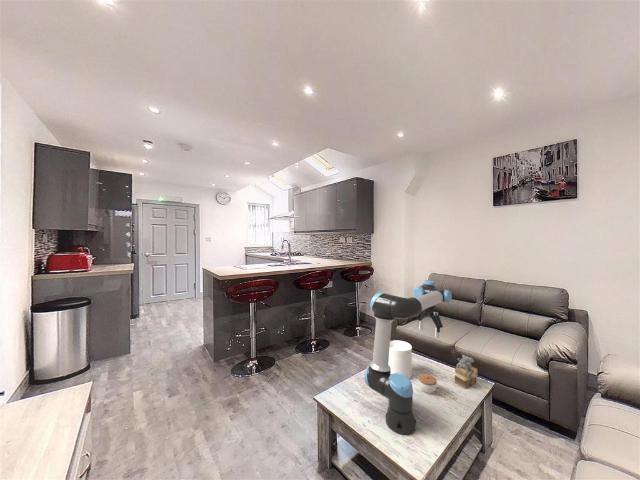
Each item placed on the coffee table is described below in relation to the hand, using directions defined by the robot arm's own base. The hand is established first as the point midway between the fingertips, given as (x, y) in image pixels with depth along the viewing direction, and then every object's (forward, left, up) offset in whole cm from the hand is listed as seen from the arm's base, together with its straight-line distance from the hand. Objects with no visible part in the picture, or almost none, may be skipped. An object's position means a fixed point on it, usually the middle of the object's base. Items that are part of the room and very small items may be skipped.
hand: (428, 333), depth 173 cm
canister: (-18, +9, -29) cm, 35 cm away
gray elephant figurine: (+13, -18, -19) cm, 29 cm away
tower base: (+13, -18, -29) cm, 37 cm away
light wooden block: (+13, -18, -24) cm, 33 cm away
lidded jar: (-16, -13, -29) cm, 36 cm away
